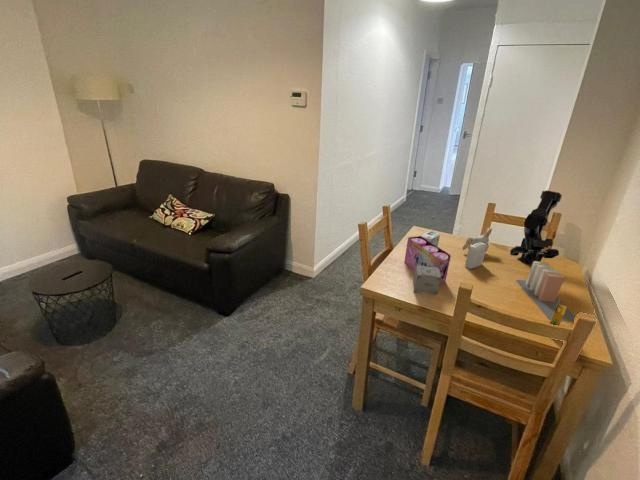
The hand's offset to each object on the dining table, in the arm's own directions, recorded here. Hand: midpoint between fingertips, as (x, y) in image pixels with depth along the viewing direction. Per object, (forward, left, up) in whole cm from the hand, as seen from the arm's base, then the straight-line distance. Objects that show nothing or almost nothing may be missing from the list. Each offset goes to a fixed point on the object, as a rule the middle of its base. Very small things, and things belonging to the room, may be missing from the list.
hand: (536, 270), depth 151 cm
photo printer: (+9, -24, -8) cm, 27 cm away
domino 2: (+3, +4, -7) cm, 9 cm away
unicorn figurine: (-7, -36, -8) cm, 38 cm away
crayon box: (+26, +23, -8) cm, 35 cm away
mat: (+7, +10, -8) cm, 14 cm away
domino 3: (+5, +7, -7) cm, 11 cm away
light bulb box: (+20, -45, -8) cm, 50 cm away
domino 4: (+7, +11, -7) cm, 15 cm away
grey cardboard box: (+48, -19, -8) cm, 52 cm away
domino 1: (0, +1, -7) cm, 7 cm away
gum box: (+36, -31, -8) cm, 49 cm away
